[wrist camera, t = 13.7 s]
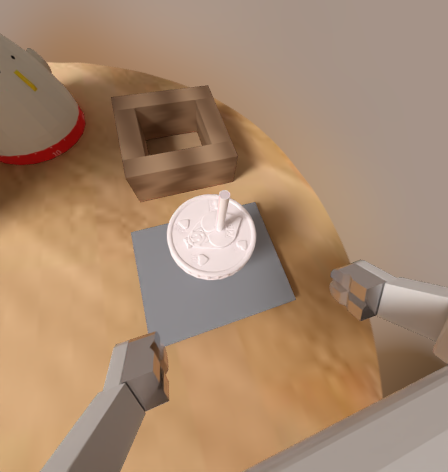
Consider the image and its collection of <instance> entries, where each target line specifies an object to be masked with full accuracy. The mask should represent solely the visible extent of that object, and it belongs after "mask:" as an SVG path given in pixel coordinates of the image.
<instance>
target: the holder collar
mask: <svg viewBox="0 0 448 472" xmlns="http://www.w3.org/2000/svg"><path fill="white" fill-rule="evenodd" d="M111 99H112V105H113V111H114V116H115V122H116V127H117V133H118V138H119V144H120V150H121V155H122V161H123V166H124V172H125V177H126V180H127V181H128V183H129V184H130V186H131V188H132V189H133V191H134V193H135V194H136V196H137V198H138V199H139V201H140V202H143V201H147V200H152V199H156V198H161V197H165V196H170V195H174V194H179V193H184V192H188V191H193V190H197V189H202V188H206V187H211V186H215V185H220V184H224V183H229V182H233V178H234V173H235V168H236V163H237V158H238V155H237V153H236V150H235V148H234V146H233V143H232V141H231V139H230V136H229V134H228V131H227V129H226V127H225V124H224V122H223V120H222V117H221V115H220V113H219V110H218V108H217V106H216V103H215V101H214V98H213V96H212V94H211V91H210V89H209V87H208V86H199V87H191V88H183V89H175V90H166V91H158V92H150V93H142V94H134V95H126V96H118V97H111ZM196 131H197V133H198V135H199V138H200V141H201V144H202V146H199V147H193V148H188V149H182V150H177V151H171V152H166V153H160V154H155V155H149V152H148V148H147V144H146V140H147V139H153V138H159V137H165V136H172V135H178V134H184V133H190V132H196Z"/></svg>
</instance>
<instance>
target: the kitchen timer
mask: <svg viewBox="0 0 448 472" xmlns="http://www.w3.org/2000/svg"><path fill="white" fill-rule="evenodd" d="M51 73H52V72H51V69H50V67H49V66H48V64H47V63H46V61H45V60H44V59H43V58H42V57H41V56H40V55H39V54H37V53H36V52H35V51H34V50H32V49H30V48H27V50H26V51H25V50H23V49H22V48H21V47H19V46H18V45H17V44H15V43H14V42H12V41H11V40H9V39H8V38H6V37H5V36H3V35H2V34H0V162H3V163H7V164H15V165H26V164H36V163H40V162H43V161H47V160H50V159H53V158H55V157H57V156H59V155H61V154H62V153H64V152H66V151H67V150H68V149H70V148H71V147H72V146H73V145H74V144H76V143H77V141H78V140H79V138H80V137H81V135H82V134H83V131H84V127H85V118H84V114H83V112H82V111H81V109H80V107H79V106H78V104H77V103H76V101H75V100H74V98H73V97H72V95H71V94H70V93H69V91H68V90H67V89H66V88H65V87H64V86H63V84H62V83H61V82H60V81H59V80H58V79H57V78H56V77H55V76H54V75H53V74H51Z"/></svg>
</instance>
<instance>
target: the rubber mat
mask: <svg viewBox="0 0 448 472" xmlns="http://www.w3.org/2000/svg"><path fill="white" fill-rule="evenodd" d="M242 206H243V207H244V208H245V209H246V210H247V211H248V213H249V214H250V216H251V218H252V220H253V222H254V225H255V229H256V243H255V247H254V250H253V253H252V255H251V256H250V259H249V260H248V262H247V263H246V264H245V265H244V267H243V268H242V269H241V270H239V271H238V272H236V273H235V274H234V275H232V276H229V277H226V278H223V279H218V280H205V279H200V278H196V277H194V276H192V275H190V274H188V273H186V272H185V271H184V270H183V269H181V268H180V267H179V266H178V265H177V263H176V262H175V260H174V259H173V257H172V256H171V252H170V249H169V246H168V242H167V229H168V224H169V223H168V224H164V225H160V226H155V227H151V228H147V229H143V230H139V231H135V232H131V235H132V241H133V247H134V253H135V259H136V265H137V270H138V276H139V282H140V288H141V294H142V300H143V305H144V311H145V317H146V323H147V329H148V334H149V333H152V332H155V331H157V332H158V334H159V336H160V343H161V344H164V347H165V346H168V345H170V344H173V343H176V342H179V341H182V340H184V339H187V338H190V337H193V336H196V335H198V334H201V333H204V332H207V331H210V330H212V329H215V328H218V327H221V326H224V325H226V324H229V323H232V322H235V321H238V320H240V319H243V318H246V317H249V316H252V315H254V314H257V313H260V312H263V311H266V310H268V309H271V308H274V307H277V306H280V305H282V304H285V303H288V302H291V301H294V300H296V298H295V296H294V294H293V291H292V289H291V286H290V284H289V282H288V279H287V277H286V275H285V272H284V270H283V267H282V265H281V263H280V260H279V258H278V255H277V253H276V251H275V248H274V246H273V244H272V241H271V239H270V236H269V234H268V232H267V229H266V227H265V224H264V222H263V220H262V217H261V215H260V213H259V210H258V208H257V205H256V203H255V202H253V203H249V204H245V205H242Z"/></svg>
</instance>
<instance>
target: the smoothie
mask: <svg viewBox="0 0 448 472" xmlns="http://www.w3.org/2000/svg"><path fill="white" fill-rule="evenodd" d="M167 242H168V246H169V249H170V252H171V256H172V257H173V259H174V260H175V262H176V263H177V265H178V266H179V267H180V268H181V269H183V270H184V271H185V272H186V273H188V274H190V275H192V276H194V277H196V278H200V279H205V280H218V279H223V278H226V277H229V276H232V275H234V274H235V273H236V272H238V271H239V270H241V269H242V268H243V267H244V265H245V264H246V263H247V262H248V260H249V259H250V256H251V255H252V253H253V250H254V247H255V243H256V229H255V225H254V222H253V220H252V218H251V216H250V214H249V213H248V211H247V210H246V209H245V208H244V207H243V206H242V205H241V204H239V203H238V202H236V201H235V200H233V199H231V198H230V193H229V192H228V191H227V190H222V191H221V192H220V193H219V195H216V194H206V195H200V196H197V197H194V198H191V199H189V200H188V201H186V202H184V203H183V204H182V205H181V206H180V207H179V208H178V209H177V210H176V211H175V212H174V214H173V215H172V217H171V219H170V221H169V224H168V229H167Z"/></svg>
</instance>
